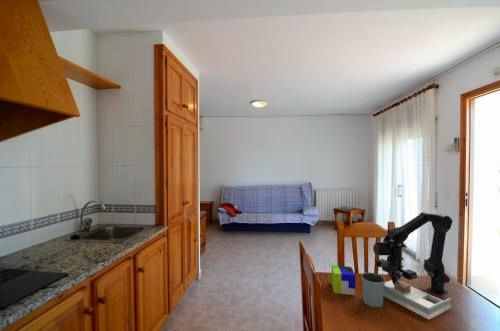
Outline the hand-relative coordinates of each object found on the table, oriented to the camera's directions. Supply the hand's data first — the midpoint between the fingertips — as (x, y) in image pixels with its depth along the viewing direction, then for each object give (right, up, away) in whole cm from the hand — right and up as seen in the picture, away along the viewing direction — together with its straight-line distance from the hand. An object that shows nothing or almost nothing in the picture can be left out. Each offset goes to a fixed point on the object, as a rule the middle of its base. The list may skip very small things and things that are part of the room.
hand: (394, 285), depth 126 cm
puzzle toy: (-26, -3, +1) cm, 27 cm away
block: (+2, -1, -4) cm, 4 cm away
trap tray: (+3, -3, -8) cm, 9 cm away
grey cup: (-17, -3, -11) cm, 20 cm away
